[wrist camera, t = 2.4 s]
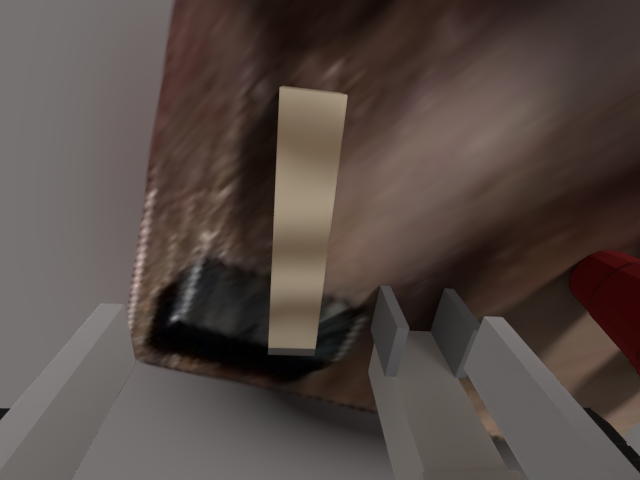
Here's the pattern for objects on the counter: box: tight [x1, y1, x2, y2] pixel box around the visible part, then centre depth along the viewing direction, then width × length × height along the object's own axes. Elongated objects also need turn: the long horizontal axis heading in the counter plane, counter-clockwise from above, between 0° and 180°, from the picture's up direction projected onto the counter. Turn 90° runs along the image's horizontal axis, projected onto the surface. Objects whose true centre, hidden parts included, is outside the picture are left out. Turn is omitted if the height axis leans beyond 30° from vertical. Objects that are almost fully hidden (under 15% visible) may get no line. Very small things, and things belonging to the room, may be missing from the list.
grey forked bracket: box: [368, 285, 523, 480], centre depth 28 cm, size 12×8×15 cm, turn 174°
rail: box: [268, 86, 348, 356], centre depth 26 cm, size 21×4×5 cm, turn 174°
